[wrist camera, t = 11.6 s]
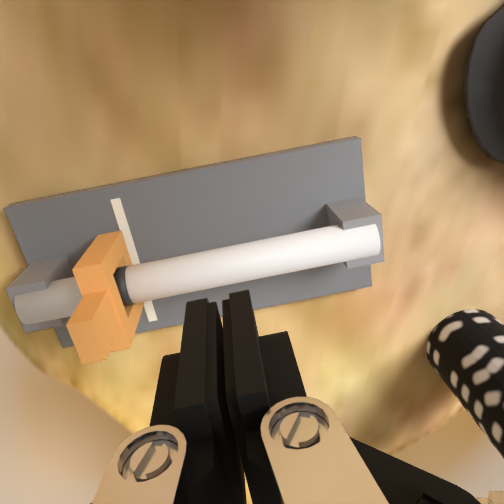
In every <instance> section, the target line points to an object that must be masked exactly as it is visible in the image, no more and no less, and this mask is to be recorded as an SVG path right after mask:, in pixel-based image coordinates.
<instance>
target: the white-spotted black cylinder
mask: <svg viewBox="0 0 504 504" xmlns="http://www.w3.org/2000/svg"><path fill="white" fill-rule="evenodd" d="M427 357H428V360H429V362H430V364H431V365H432V366H433V367H434V369H435V370H436V371H437V373H438V374H439V375H440V377H441V378H442V379H443V380H444V382H445V383H446V384H447V386H448V387H449V388H450V389H451V391H452V392H453V393H454V395H455V396H456V397H457V399H458V400H459V401H460V402H461V404H462V405H463V406H464V408H465V409H466V410H467V412H468V413H469V414H470V415H471V417H472V418H473V419H474V421H475V422H476V423H477V424H478V426H479V427H480V428H481V430H482V431H483V432H484V434H486V436H487V437H488V439H489V440H490V441H491V443H492V444H493V445H494V447H495V448H496V449H497V450H498V452H499V453H500V454H501V456H502V457H503V458H504V325H503V324H502V323H501V322H500V321H499V320H497V319H496V318H495V317H494V316H492V315H491V314H490V313H488V312H485V311H482V310H477V309H469V310H463V311H460V312H457V313H454V314H452V315H450V316H448V317H447V318H446V319H444V320H443V321H441V322H440V323H439V324H438V325H437V326H436V327H435V329H434V330H433V332H432V333H431V335H430V337H429V339H428V343H427Z"/></svg>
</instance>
